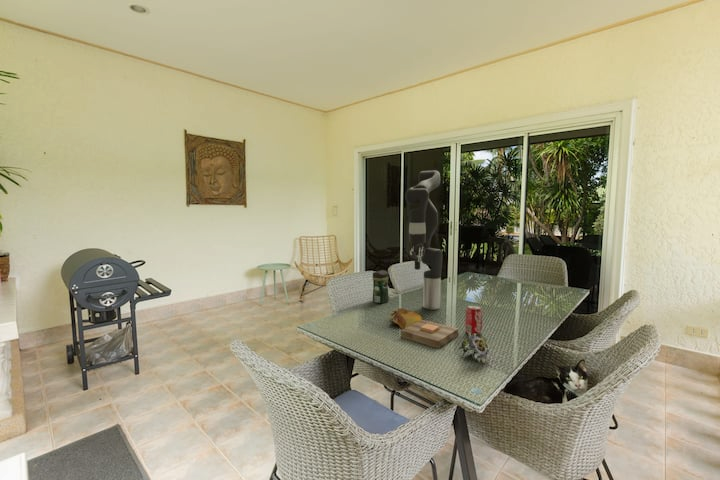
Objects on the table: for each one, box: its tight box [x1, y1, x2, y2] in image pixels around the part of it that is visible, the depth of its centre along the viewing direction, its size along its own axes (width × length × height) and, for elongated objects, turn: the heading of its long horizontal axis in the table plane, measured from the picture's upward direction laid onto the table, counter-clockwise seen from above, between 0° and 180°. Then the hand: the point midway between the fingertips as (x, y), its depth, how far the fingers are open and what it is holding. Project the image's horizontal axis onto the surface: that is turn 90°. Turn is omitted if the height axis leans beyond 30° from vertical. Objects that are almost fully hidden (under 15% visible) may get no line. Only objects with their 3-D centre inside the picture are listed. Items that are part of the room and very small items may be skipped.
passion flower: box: [458, 332, 489, 364], centre depth 126 cm, size 11×11×12 cm
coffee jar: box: [372, 269, 390, 304], centre depth 201 cm, size 10×8×19 cm
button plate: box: [400, 319, 459, 349], centre depth 148 cm, size 18×18×3 cm
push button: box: [420, 323, 439, 333], centre depth 148 cm, size 6×6×4 cm
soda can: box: [464, 304, 483, 336], centre depth 151 cm, size 7×7×12 cm
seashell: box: [389, 308, 423, 330], centre depth 165 cm, size 17×8×15 cm
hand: (417, 269), depth 158 cm, fingers closed
